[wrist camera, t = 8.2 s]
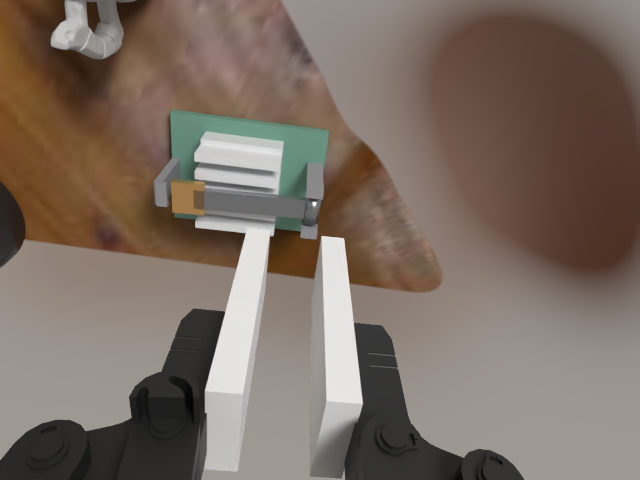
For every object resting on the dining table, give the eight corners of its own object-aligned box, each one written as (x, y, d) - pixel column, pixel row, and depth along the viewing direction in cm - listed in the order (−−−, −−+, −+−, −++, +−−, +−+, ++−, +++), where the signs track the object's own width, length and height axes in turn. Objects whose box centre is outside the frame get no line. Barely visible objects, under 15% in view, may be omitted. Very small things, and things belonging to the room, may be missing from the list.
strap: (174, 206, 43) (171, 214, 41) (173, 177, 41) (169, 184, 40) (317, 219, 44) (318, 227, 43) (321, 191, 43) (322, 198, 41)
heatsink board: (176, 213, 50) (155, 250, 44) (172, 109, 44) (147, 134, 37) (313, 228, 52) (313, 267, 45) (328, 130, 45) (331, 157, 39)
